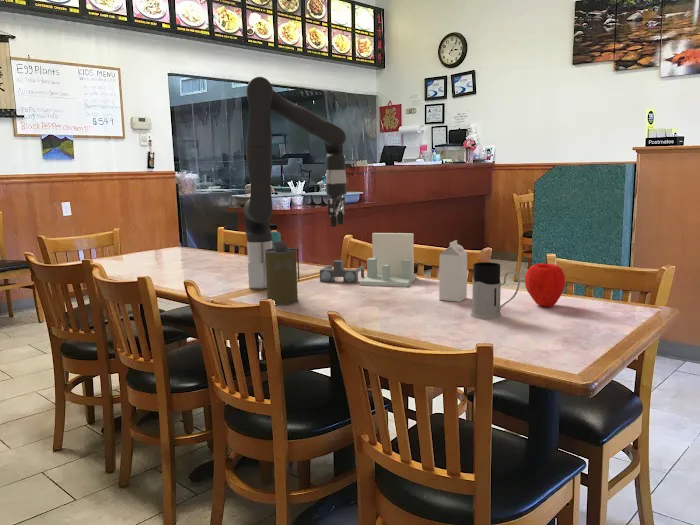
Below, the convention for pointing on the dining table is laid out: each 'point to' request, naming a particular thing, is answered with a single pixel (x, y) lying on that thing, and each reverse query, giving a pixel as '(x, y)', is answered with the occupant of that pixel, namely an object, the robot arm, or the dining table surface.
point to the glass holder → (488, 290)
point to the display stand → (391, 260)
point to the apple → (545, 283)
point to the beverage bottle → (275, 234)
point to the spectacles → (340, 273)
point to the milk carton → (453, 273)
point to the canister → (282, 274)
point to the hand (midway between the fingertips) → (337, 225)
